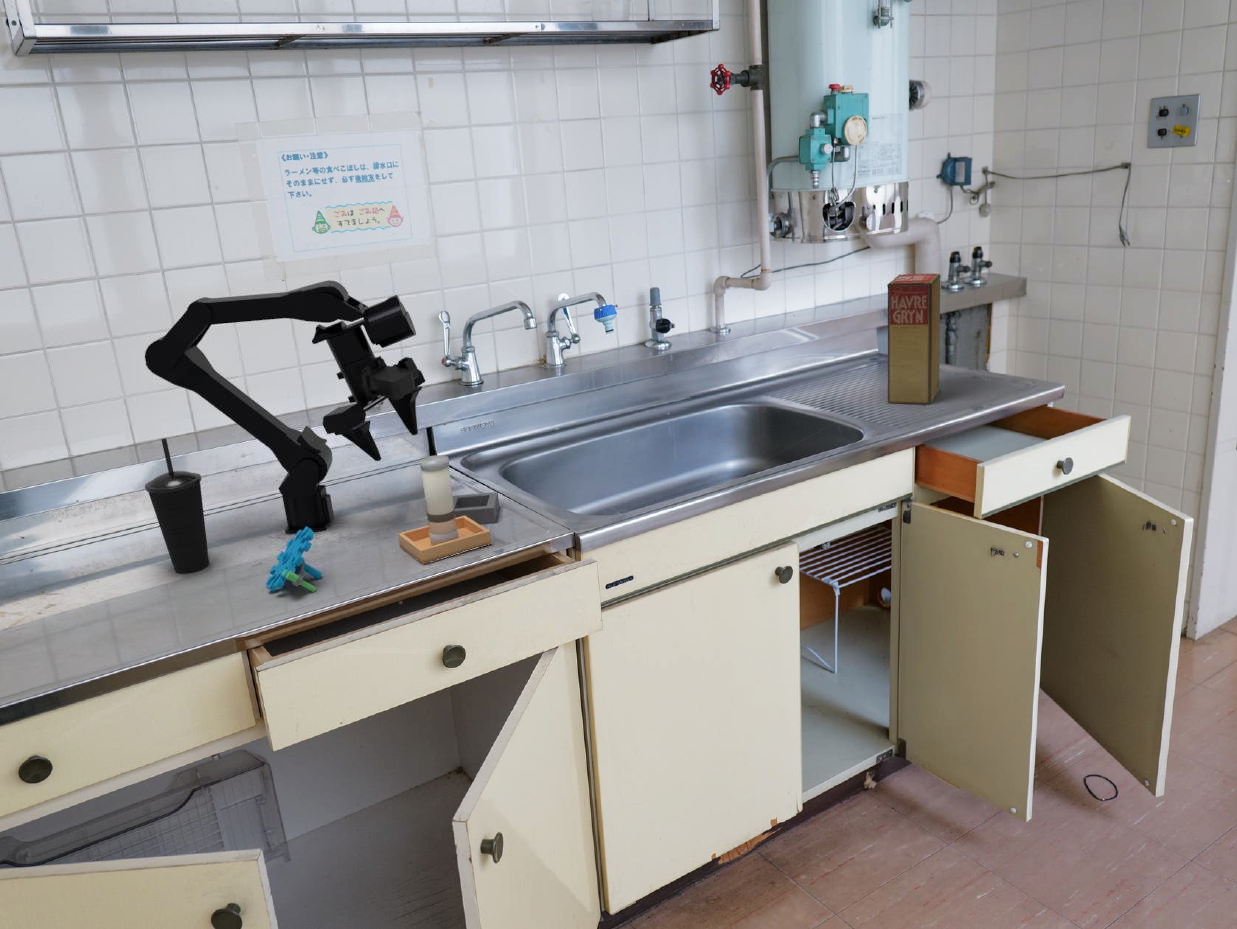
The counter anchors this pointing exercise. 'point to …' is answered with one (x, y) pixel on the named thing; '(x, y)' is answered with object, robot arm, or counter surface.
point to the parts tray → (422, 550)
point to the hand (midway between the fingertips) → (397, 447)
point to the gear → (293, 563)
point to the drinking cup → (180, 516)
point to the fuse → (439, 499)
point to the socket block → (477, 507)
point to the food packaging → (913, 338)
